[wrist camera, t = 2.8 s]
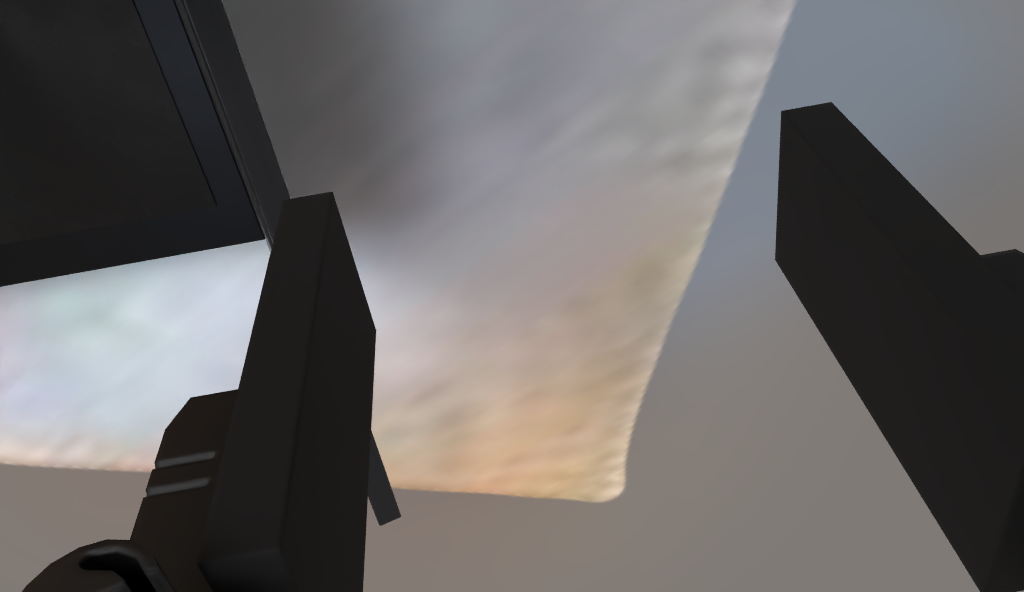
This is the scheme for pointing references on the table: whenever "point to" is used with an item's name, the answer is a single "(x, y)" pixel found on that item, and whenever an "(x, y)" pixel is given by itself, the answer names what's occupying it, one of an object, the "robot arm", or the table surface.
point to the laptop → (109, 141)
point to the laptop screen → (256, 160)
